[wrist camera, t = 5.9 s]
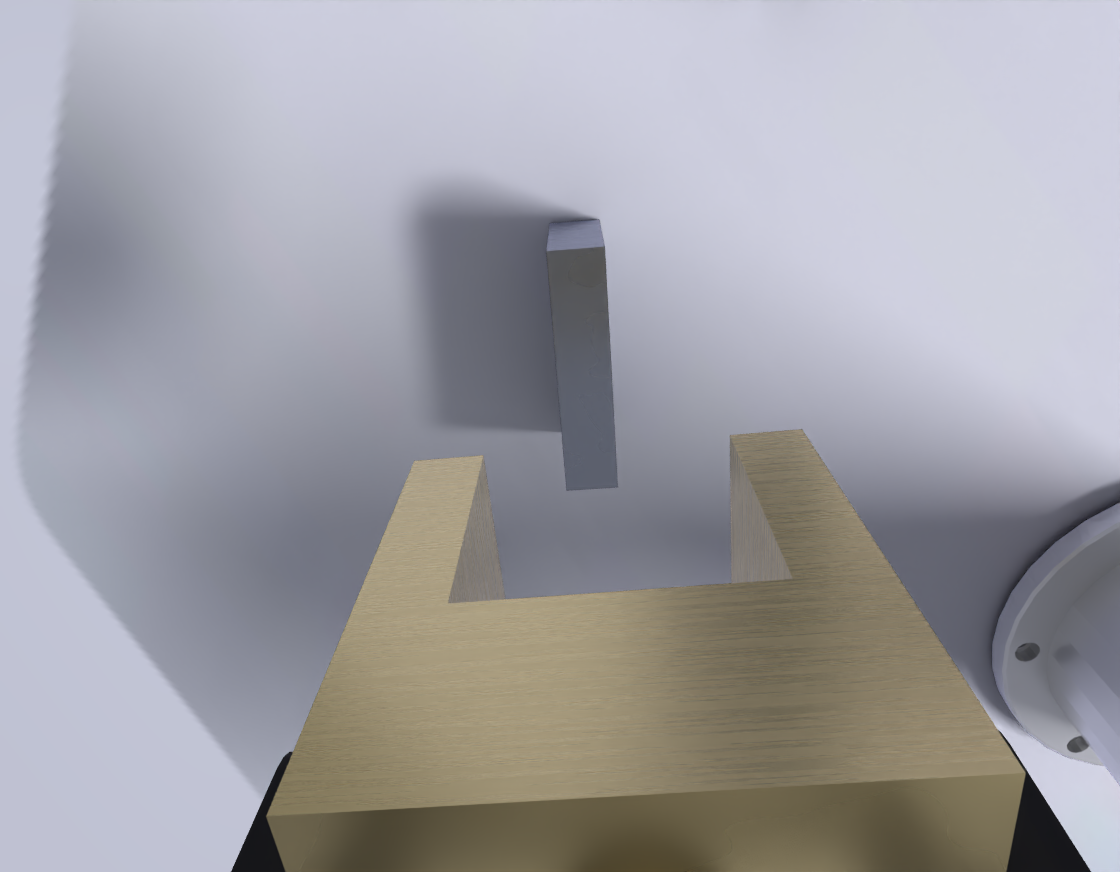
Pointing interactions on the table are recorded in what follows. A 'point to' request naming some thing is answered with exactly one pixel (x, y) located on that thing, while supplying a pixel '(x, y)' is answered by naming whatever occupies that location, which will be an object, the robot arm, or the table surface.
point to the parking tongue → (582, 352)
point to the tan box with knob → (646, 706)
